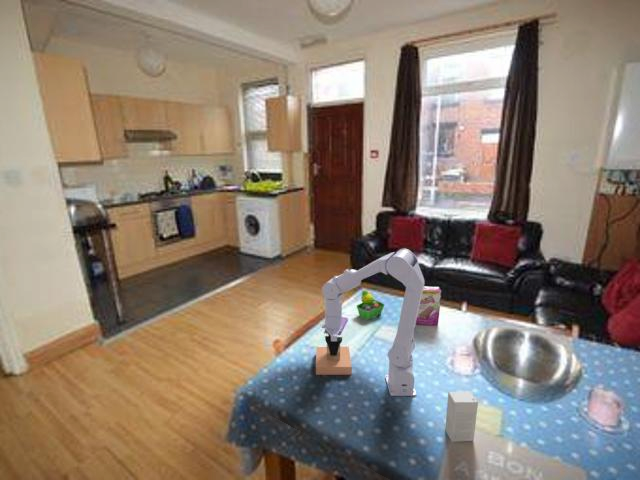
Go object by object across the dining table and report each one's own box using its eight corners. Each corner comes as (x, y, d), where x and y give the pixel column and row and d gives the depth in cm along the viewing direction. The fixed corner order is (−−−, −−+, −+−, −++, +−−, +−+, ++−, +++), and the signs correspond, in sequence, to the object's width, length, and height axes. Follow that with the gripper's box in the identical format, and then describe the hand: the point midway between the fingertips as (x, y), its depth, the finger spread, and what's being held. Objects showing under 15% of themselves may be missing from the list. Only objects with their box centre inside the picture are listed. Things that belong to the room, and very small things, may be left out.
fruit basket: (366, 322, 147) (367, 298, 144) (353, 314, 154) (353, 291, 151) (384, 314, 153) (385, 292, 150) (371, 307, 160) (372, 286, 157)
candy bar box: (412, 325, 144) (414, 289, 140) (410, 319, 149) (412, 285, 144) (438, 326, 143) (442, 290, 139) (436, 320, 148) (439, 286, 143)
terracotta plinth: (351, 374, 112) (351, 366, 111) (315, 374, 112) (315, 366, 111) (348, 353, 124) (348, 346, 123) (316, 353, 124) (316, 346, 123)
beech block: (340, 360, 115) (340, 344, 113) (326, 360, 115) (326, 344, 113) (339, 352, 119) (339, 337, 118) (326, 352, 119) (326, 337, 118)
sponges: (348, 321, 148) (348, 317, 148) (340, 335, 137) (341, 331, 136) (332, 319, 151) (332, 315, 150) (324, 333, 139) (324, 328, 139)
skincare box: (466, 428, 90) (470, 390, 87) (473, 441, 86) (479, 402, 83) (444, 429, 90) (448, 391, 87) (450, 442, 85) (454, 403, 82)
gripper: (321, 303, 120) (321, 337, 123) (321, 323, 106) (321, 361, 109) (341, 303, 120) (340, 337, 123) (343, 323, 106) (343, 361, 109)
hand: (333, 348), depth 116 cm, fingers open, 7 cm apart
